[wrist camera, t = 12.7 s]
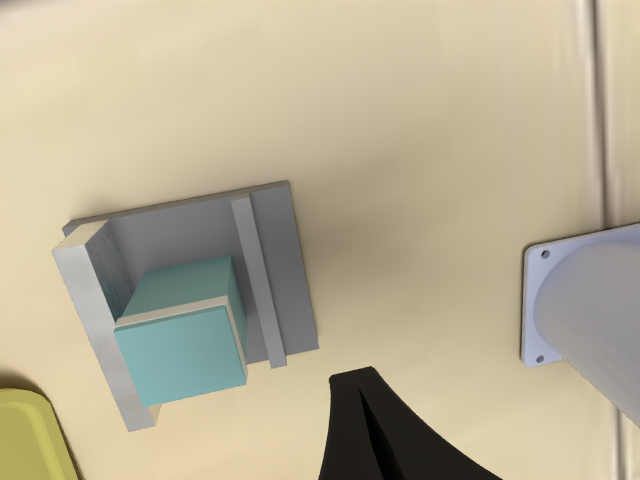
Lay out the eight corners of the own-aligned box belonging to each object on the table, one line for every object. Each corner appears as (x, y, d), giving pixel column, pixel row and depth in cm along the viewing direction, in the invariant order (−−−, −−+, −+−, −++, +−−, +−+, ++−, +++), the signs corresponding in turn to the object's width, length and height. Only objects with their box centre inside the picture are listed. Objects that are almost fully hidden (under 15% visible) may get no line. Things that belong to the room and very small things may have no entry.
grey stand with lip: (287, 180, 20) (290, 190, 19) (316, 337, 24) (321, 357, 22) (70, 220, 20) (54, 234, 18) (133, 377, 23) (123, 401, 21)
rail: (108, 219, 19) (83, 244, 16) (167, 381, 22) (155, 425, 19) (80, 224, 19) (50, 250, 16) (143, 387, 22) (128, 431, 19)
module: (231, 253, 20) (226, 307, 16) (248, 318, 22) (247, 385, 17) (143, 271, 20) (111, 331, 15) (166, 336, 21) (142, 409, 17)
